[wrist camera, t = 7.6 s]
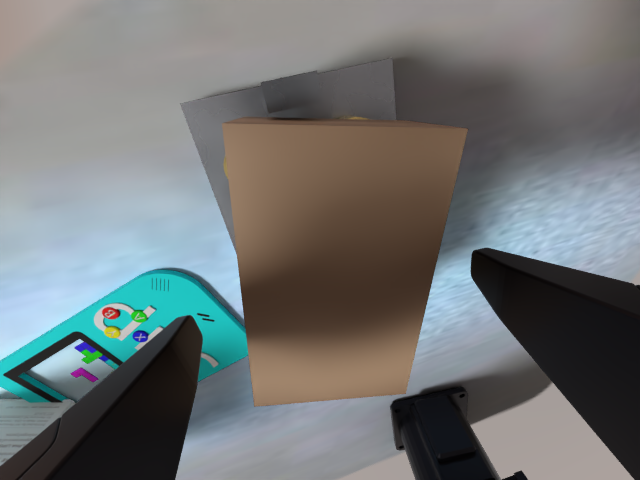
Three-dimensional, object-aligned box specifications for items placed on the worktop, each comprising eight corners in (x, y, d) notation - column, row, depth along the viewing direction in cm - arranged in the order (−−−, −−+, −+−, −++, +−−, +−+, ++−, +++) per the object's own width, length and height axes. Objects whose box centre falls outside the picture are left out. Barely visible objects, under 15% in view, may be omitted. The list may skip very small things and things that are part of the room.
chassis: (401, 289, 19) (443, 358, 14) (267, 319, 18) (260, 400, 13) (383, 61, 13) (446, 34, 8) (189, 103, 13) (125, 103, 8)
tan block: (376, 324, 15) (405, 393, 11) (262, 330, 14) (254, 406, 11) (406, 120, 11) (467, 128, 7) (244, 116, 10) (221, 123, 6)
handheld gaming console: (259, 352, 19) (91, 440, 21) (261, 340, 20) (99, 426, 22) (168, 260, 15) (-24, 378, 17) (175, 251, 16) (-8, 364, 18)
